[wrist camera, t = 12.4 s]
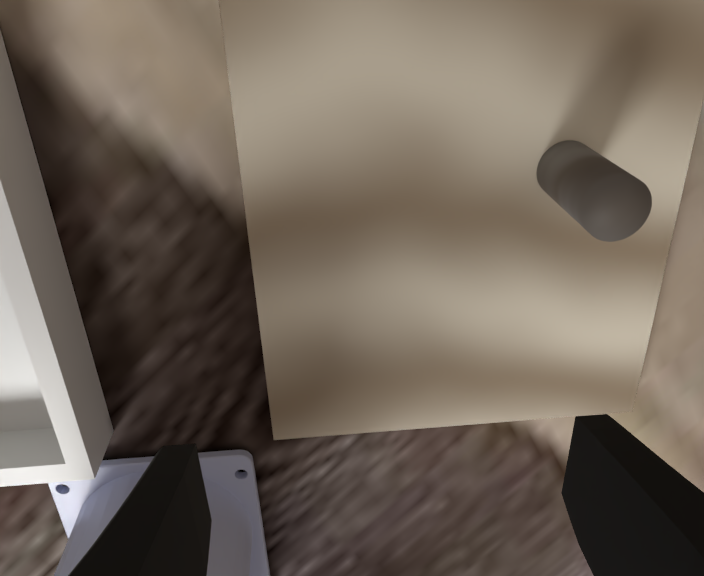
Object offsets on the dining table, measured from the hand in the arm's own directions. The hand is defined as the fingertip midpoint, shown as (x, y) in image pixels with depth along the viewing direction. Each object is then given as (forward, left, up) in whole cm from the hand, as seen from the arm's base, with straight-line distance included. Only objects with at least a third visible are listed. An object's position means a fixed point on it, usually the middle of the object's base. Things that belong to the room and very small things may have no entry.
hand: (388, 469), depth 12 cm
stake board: (+1, -4, -10) cm, 11 cm away
